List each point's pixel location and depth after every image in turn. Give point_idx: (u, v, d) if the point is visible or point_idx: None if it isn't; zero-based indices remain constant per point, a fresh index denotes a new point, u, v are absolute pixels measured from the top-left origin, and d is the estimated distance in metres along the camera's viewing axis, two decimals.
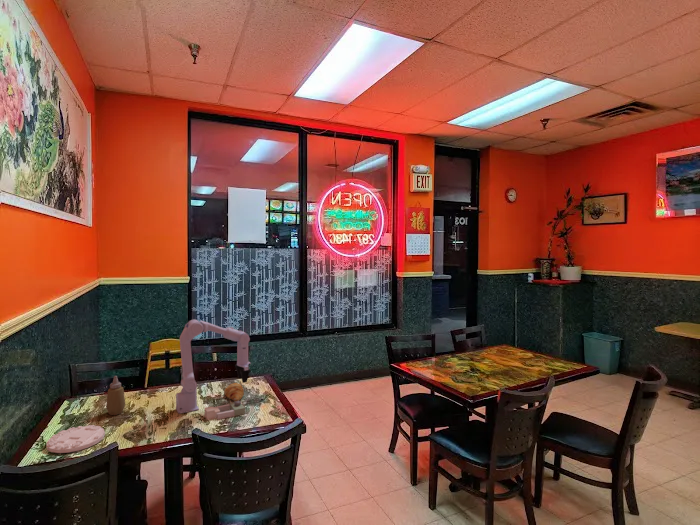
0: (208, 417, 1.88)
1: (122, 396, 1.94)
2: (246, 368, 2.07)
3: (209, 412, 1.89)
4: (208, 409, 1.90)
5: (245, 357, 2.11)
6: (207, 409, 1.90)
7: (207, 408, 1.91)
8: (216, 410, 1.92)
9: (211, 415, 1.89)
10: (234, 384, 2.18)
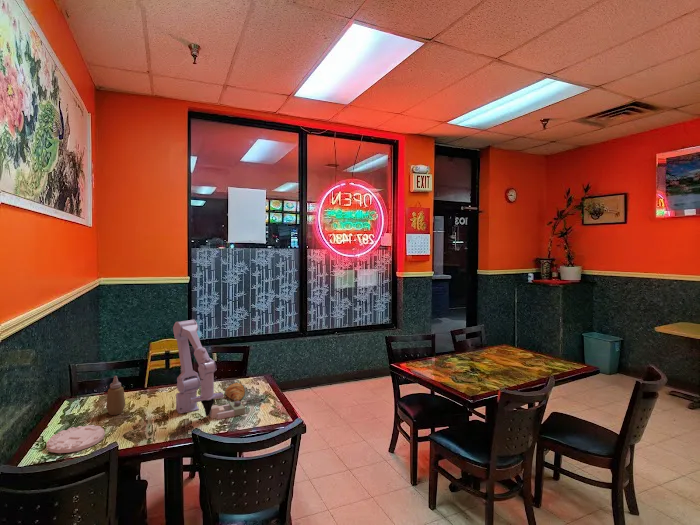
0: (213, 415, 1.90)
1: (122, 396, 1.94)
2: (191, 400, 1.86)
3: (214, 410, 1.90)
4: (213, 407, 1.92)
5: (201, 390, 1.88)
6: (212, 407, 1.92)
7: (212, 406, 1.93)
8: (221, 408, 1.93)
9: (216, 413, 1.91)
10: (235, 384, 2.18)
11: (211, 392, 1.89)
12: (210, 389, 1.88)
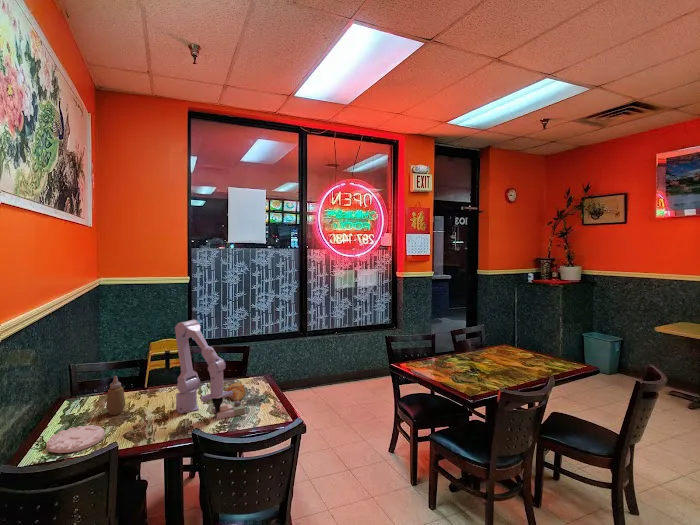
0: None
1: (122, 396, 1.94)
2: (201, 398, 1.89)
3: (222, 408, 1.92)
4: (221, 405, 1.94)
5: (211, 388, 1.91)
6: (220, 405, 1.94)
7: None
8: (229, 407, 1.95)
9: (224, 411, 1.93)
10: (235, 384, 2.18)
11: (221, 390, 1.91)
12: (220, 387, 1.91)
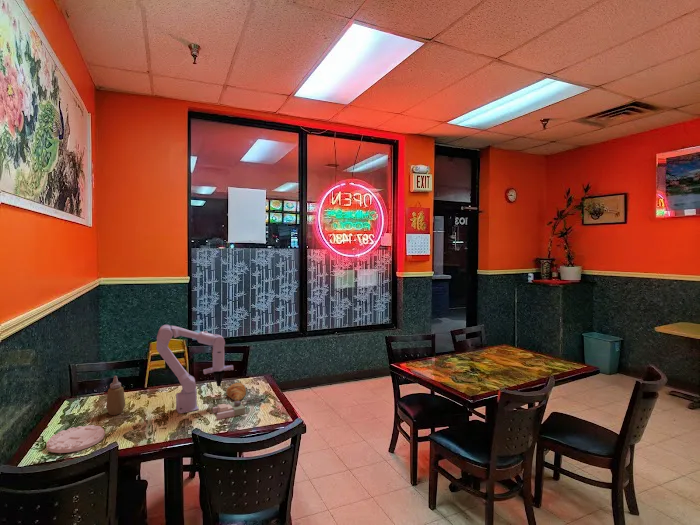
0: None
1: (122, 396, 1.94)
2: (203, 371, 2.01)
3: (222, 409, 1.92)
4: (221, 406, 1.94)
5: (213, 362, 2.03)
6: (220, 406, 1.94)
7: (220, 405, 1.95)
8: (229, 407, 1.95)
9: None
10: (236, 384, 2.18)
11: (222, 364, 2.04)
12: (221, 361, 2.03)
